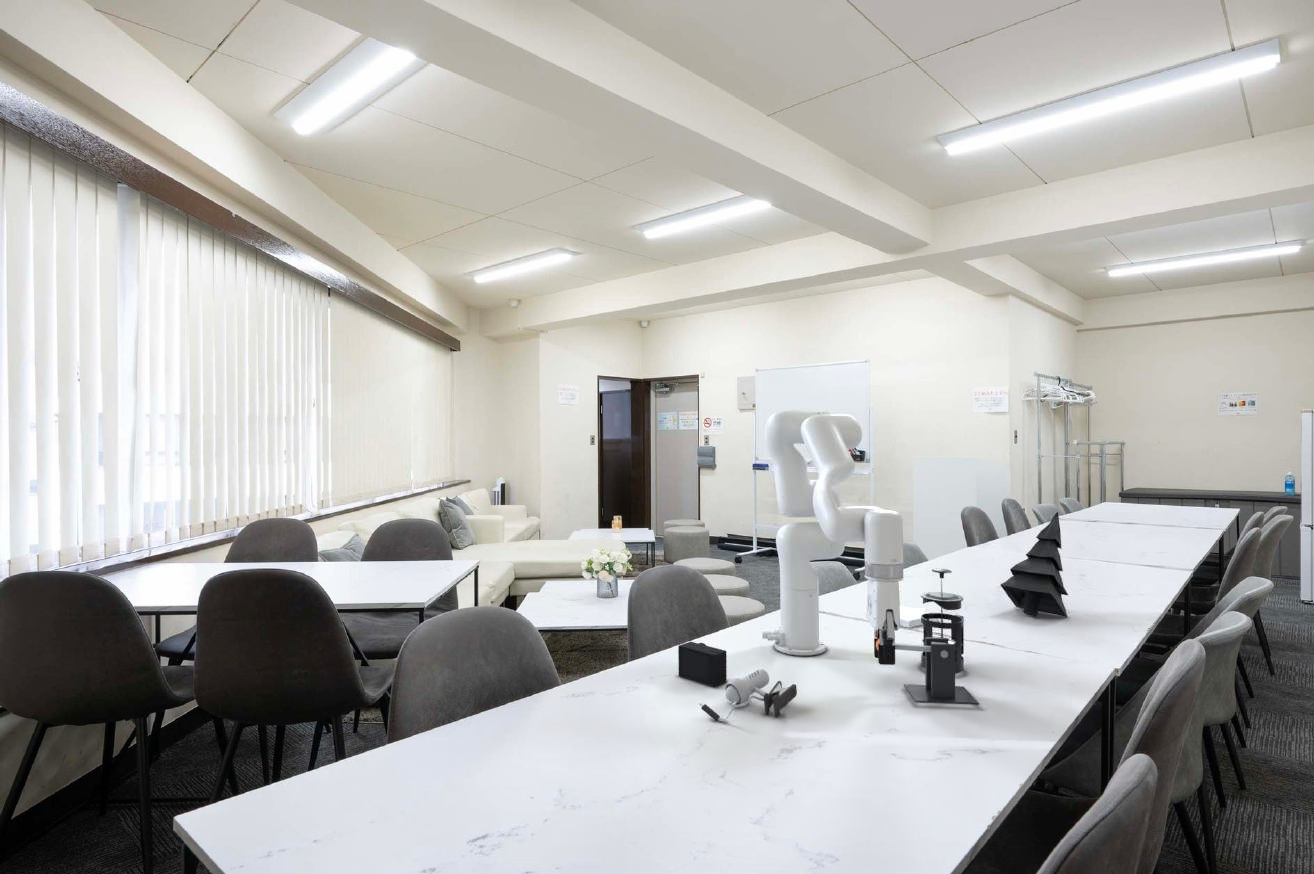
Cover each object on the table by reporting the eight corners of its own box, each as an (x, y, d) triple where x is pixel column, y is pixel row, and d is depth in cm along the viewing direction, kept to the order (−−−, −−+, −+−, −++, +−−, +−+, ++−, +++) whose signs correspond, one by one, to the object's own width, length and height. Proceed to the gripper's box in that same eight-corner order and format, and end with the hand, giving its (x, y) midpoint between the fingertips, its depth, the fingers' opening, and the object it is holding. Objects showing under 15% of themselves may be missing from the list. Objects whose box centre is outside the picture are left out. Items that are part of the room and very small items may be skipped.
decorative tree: (1065, 629, 199) (1091, 526, 211) (1047, 606, 191) (1075, 501, 204) (1013, 619, 210) (1040, 522, 223) (994, 597, 203) (1024, 497, 215)
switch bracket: (915, 706, 134) (915, 646, 134) (903, 689, 143) (903, 633, 143) (979, 709, 133) (978, 648, 133) (963, 692, 142) (963, 635, 142)
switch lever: (877, 655, 138) (877, 639, 138) (873, 650, 141) (874, 634, 141) (949, 660, 136) (949, 644, 136) (944, 655, 139) (944, 640, 139)
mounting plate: (905, 610, 209) (905, 604, 209) (943, 619, 198) (943, 613, 198) (865, 619, 199) (865, 612, 199) (903, 629, 188) (903, 622, 188)
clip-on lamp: (735, 747, 123) (802, 703, 133) (731, 716, 122) (799, 674, 132) (693, 720, 133) (759, 680, 143) (690, 690, 131) (756, 653, 141)
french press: (943, 681, 148) (943, 575, 148) (909, 668, 156) (908, 568, 157) (978, 671, 154) (978, 570, 154) (943, 660, 162) (942, 563, 162)
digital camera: (730, 681, 149) (730, 649, 149) (715, 687, 145) (715, 655, 145) (694, 670, 156) (694, 639, 156) (678, 676, 152) (678, 645, 152)
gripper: (857, 563, 148) (858, 648, 148) (873, 578, 132) (874, 674, 131) (893, 564, 147) (894, 649, 147) (913, 579, 131) (914, 675, 131)
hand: (884, 660), depth 139 cm, fingers closed on switch lever, 3 cm apart
